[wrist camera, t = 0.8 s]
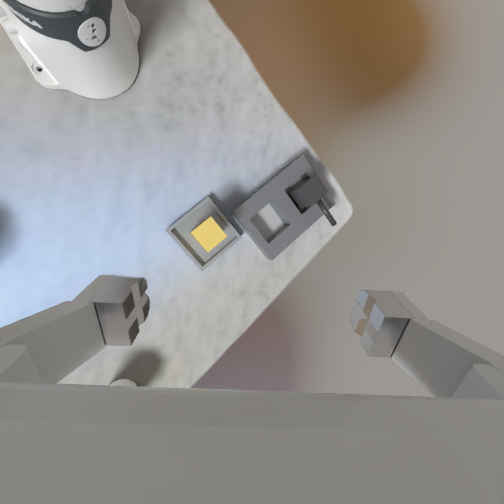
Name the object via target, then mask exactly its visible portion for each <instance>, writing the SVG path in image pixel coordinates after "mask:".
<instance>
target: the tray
mask: <svg viewBox="0 0 504 504" xmlns="http://www.w3.org/2000/svg"><path fill="white" fill-rule="evenodd" d="M210 216H211V217H212V218H213V219H214V221H215V222H216V223H217V224H218V226H219V227H220V228H221V229H222V230H223V232H224V233H225V234H226V235H227V237H226V238H225V239H223V240H222V241H221V242H220V243H219V244H218V245H216V246H215V247H214V248H213V249H212V250H210V251H209V252H208V253H207V252H206V251H205V249H204V248H203V247H202V246H201V245H200V244H199V243H198V241H197V240H196V239H195V238H194V237H193V236H192V235H191V233H190V232H191V231H192V230H194V229H195V228H196V227H197V226H198V225H200V224H201V223H202V222H203V221H205V220H206V219H207V218H209V217H210ZM166 231H167V232H168V234H169V235H170V236H171V237H172V238H173V239H174V240H175V241H176V242H177V244H178V245H179V246H180V247H181V248H182V249H183V250H184V251H185V253H186V254H187V255H188V256H189V257H190V258H191V259H192V260H193V261H194V263H195V264H196V265H197V266H198V267H199V268H200V269H201V270H202V271H203V270H204V269H205V268H207V267H208V266H209V265H210V264H211V263H212V262H214V261H215V260H216V259H217V258H218V257H219V256H221V255H222V254H223V253H224V252H225V251H227V250H228V249H229V248H230V247H231V246H232V245H234V244H235V243H236V242H237V241H238V240H239V239H241V238H242V237H241V236H240V235H239V233H238V232H237V231H236V230H235V229H234V227H233V226H232V225H231V224H230V222H229V221H228V220H227V219H226V217H225V216H224V215H223V214H222V212H221V211H220V210H219V209H218V207H217V206H216V205H215V204H214V202H213V201H212V200H211V199H210V197H209V196H208V197H207V198H206V199H204V200H203V201H202V202H201V203H199V204H198V205H197V206H195V207H194V208H193V209H192V210H190V211H189V212H188V213H187V214H185V215H184V216H183V217H182V218H180V219H179V220H178V221H177V222H175V223H174V224H173V225H171V226H170V227H169V228H168V229H166Z"/></svg>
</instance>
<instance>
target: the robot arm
mask: <svg viewBox="0 0 504 504" xmlns="http://www.w3.org/2000/svg"><path fill="white" fill-rule="evenodd" d="M0 23H1V24H2V26H3V28H4V29H5V31H6V32H7V34H8V36H9V37H10V39H11V40H12V42H13V43H14V45H15V47H16V48H17V50H18V51H19V53H20V55H21V56H22V58H23V59H24V61H25V63H26V64H27V66H28V67H29V69H30V70H31V72H32V74H33V75H34V77H35V78H36V80H37V81H38V82H39V84H40V85H42V86H43V87H46V88H51V89H65V90H69V91H71V92H74V93H76V94H79V95H81V96H85V97H89V98H96V99H104V98H110V97H114V96H117V95H119V94H121V93H123V92H124V91H126V90H127V89H128V88H129V87H130V86H131V85H132V83H133V82H134V80H135V78H136V76H137V73H138V69H139V54H138V40H139V37H140V33H141V27H140V24H139V21H138V19H137V18H136V17H135V16H134V15H133V14H132V13H131V12H130V11H129V10H128V9H127V7H126V4H125V1H124V0H0ZM39 69H42V71H41V72H39ZM147 288H148V286H147V281H146V279H145V278H144V277H131V276H118V275H117V276H116V275H99V276H98V277H97V278H96V279H95V280H94V281H93V282H92V283H91V284H90V285H89V286H87V287H86V288H85V289H84V290H83V291H82V292H81V293H80V294H79V295H78V296H77V297H76V298H75V299H74V300H72V301H66V302H63V303H61V304H58V305H56V306H53V307H51V308H49V309H46V310H44V311H41V312H39V313H36V314H34V315H31V316H29V317H26V318H24V319H21V320H19V321H17V322H14V323H12V324H9V325H7V326H4V327H2V328H0V504H504V356H503V355H501V354H499V353H497V352H495V351H493V350H491V349H489V348H487V347H485V346H484V345H482V344H480V343H478V342H476V341H474V340H472V339H470V338H468V337H466V336H464V335H462V334H460V333H458V332H456V331H454V330H452V329H451V328H448V327H447V326H444V325H443V324H441V323H439V322H437V321H435V320H429V319H428V318H427V317H426V315H425V314H424V313H422V311H421V310H419V308H418V307H417V306H416V305H414V303H413V302H412V301H411V300H409V298H408V297H407V296H406V295H405V294H404V293H402V292H400V291H372V290H370V291H369V290H360V291H359V292H358V294H357V297H356V300H357V302H358V304H357V305H355V307H353V308H352V312H351V324H352V327H353V329H354V331H355V332H356V333H357V334H358V335H360V336H361V339H360V342H361V344H362V346H363V348H364V350H365V352H366V353H367V355H368V356H375V357H389V358H391V359H392V360H393V361H394V362H395V363H397V364H398V365H399V366H400V367H401V368H402V369H403V370H405V371H406V372H407V373H408V374H409V375H410V376H412V377H413V378H414V379H415V380H416V381H417V382H418V383H420V384H421V385H422V386H423V387H424V388H425V389H426V390H428V391H429V392H430V393H431V394H432V395H433V396H435V397H418V396H391V395H362V394H335V393H308V392H306V393H305V392H279V391H249V390H222V389H220V390H219V389H193V388H164V387H136V386H107V385H79V384H56V383H58V382H59V381H60V380H62V379H63V378H64V377H66V376H67V375H68V374H70V373H71V372H72V371H74V370H75V369H76V368H78V367H79V366H80V365H82V364H83V363H84V362H86V361H87V360H88V359H90V358H91V357H92V356H94V355H95V354H96V353H98V352H99V351H100V350H102V349H103V348H104V347H105V345H111V346H131V345H132V343H133V342H134V340H135V338H136V336H137V335H138V333H139V325H141V324H142V323H144V322H145V320H146V318H147V316H148V313H149V309H150V300H149V296H148V295H147V294H146V293H145V291H146V289H147Z"/></svg>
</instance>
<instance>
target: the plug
mask: <svg viewBox="0 0 504 504" xmlns="http://www.w3.org/2000/svg"><path fill="white" fill-rule="evenodd" d="M190 233H191V235H192V236H193V237H194V238H195V239H196V240H197V241H198V243H199V244H200V245H201V246H202V247H203V248H204V249H205V251H206V252H207V253H208V252H209V251H210V250H212V249H213V248H214V247H215V246H216V245H218V244H219V243H220V242H221V241H222V240H223V239H225V238H226V237H227V235H226V234H225V233H224V232H223V230H222V229H221V228H220V227H219V226H218V224H217V223H216V222H215V221H214V219H213V218H212V217H211V216H210V217H209V218H207V219H206V220H205V221H203V222H202V223H201V224H200V225H198V226H197V227H196V228H195V229H194V230H192V231H191V232H190Z"/></svg>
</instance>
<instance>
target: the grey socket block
mask: <svg viewBox="0 0 504 504" xmlns="http://www.w3.org/2000/svg"><path fill="white" fill-rule="evenodd" d="M334 205H335V202H334V200H333V199H332V197H331V196H330V194H329V193H328V191H327V190H326V188H325V187H324V185H323V184H322V182H321V181H320V179H319V178H318V176H317V174H316V173H315V171H314V170H313V168H312V167H311V165H310V164H309V162H308V161H307V159H306V158H305V156H304V155H302V156H300V157H299V158H297V159H295V160H294V161H293V162H292V163H291V164H289V165H288V166H287V167H286V168H285V169H283V170H282V171H281V172H280V173H278V174H277V175H276V176H275V177H274V178H272V179H271V180H270V181H269V182H267V183H266V184H265V185H264V186H263V187H261V188H260V189H259V190H258V191H256V192H255V193H254V194H253V195H252V196H250V197H249V198H248V199H247V200H246V201H244V202H243V203H242V204H241V205H239V206H238V207H237V208H236V209H235V210H233V211H232V212H231V215H232V216H233V217H234V218H235V220H236V221H237V222H238V224H239V225H240V226H241V227H242V229H243V230H244V231H245V232H246V234H247V235H248V236H249V237H250V239H251V240H252V241H253V242H254V244H255V245H256V246H257V247H258V249H259V250H260V251H261V252H262V254H263V255H264V256H265V257H266V259H269V260H273V259H274V258H275V257H276V256H278V255H279V254H280V253H281V252H282V251H283V250H284V249H285V248H287V247H288V246H289V245H290V244H291V243H292V242H293V241H294V240H296V239H297V238H298V237H299V236H300V235H301V234H302V233H303V232H304V231H306V230H307V229H308V228H309V227H310V226H311V225H312V224H313V223H315V222H316V221H317V220H318V219H319V218H320V217H321V216H322V215H325V216H326V218H327V219H328V221H329V222H330V224H331V225H332V226H334V225H336V224H337V223H336V221H335V220H334V218H333V217H332V215H331V214H330V212H329V211H328V210H329V209H330V208H331V207H332V206H334Z"/></svg>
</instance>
